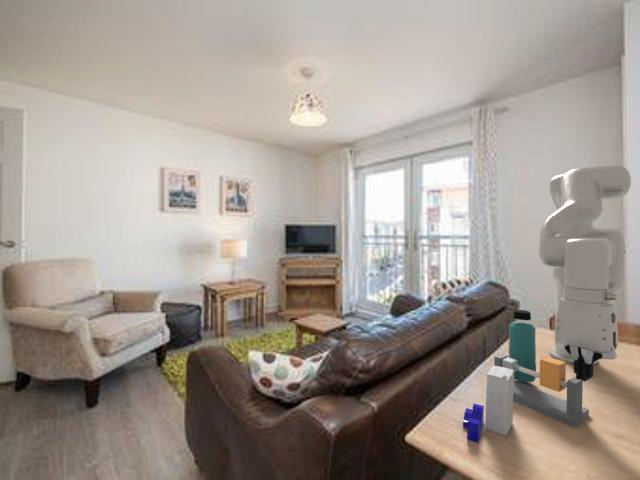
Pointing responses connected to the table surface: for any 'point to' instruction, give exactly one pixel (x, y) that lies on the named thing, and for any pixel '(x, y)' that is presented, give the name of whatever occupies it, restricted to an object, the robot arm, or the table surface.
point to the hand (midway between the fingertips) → (583, 378)
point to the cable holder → (474, 422)
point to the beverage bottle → (522, 345)
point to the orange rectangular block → (552, 373)
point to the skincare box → (499, 400)
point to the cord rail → (547, 395)
